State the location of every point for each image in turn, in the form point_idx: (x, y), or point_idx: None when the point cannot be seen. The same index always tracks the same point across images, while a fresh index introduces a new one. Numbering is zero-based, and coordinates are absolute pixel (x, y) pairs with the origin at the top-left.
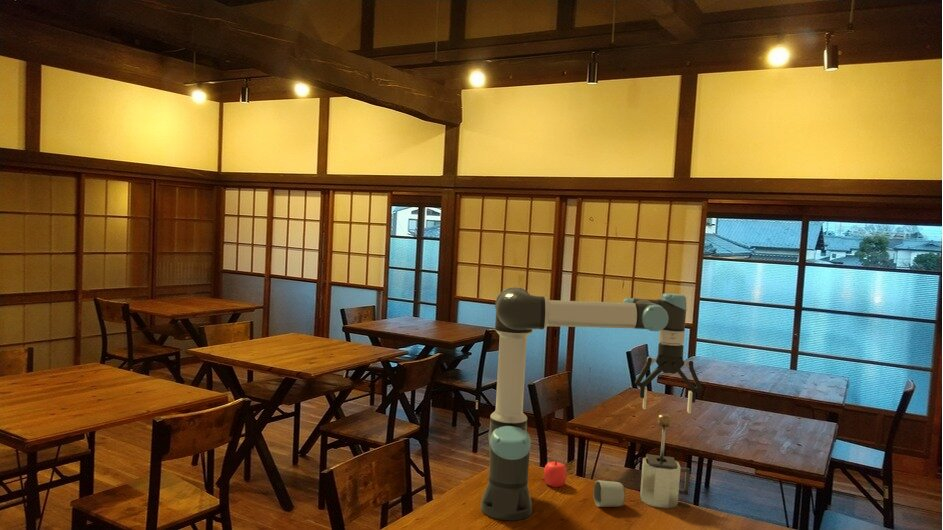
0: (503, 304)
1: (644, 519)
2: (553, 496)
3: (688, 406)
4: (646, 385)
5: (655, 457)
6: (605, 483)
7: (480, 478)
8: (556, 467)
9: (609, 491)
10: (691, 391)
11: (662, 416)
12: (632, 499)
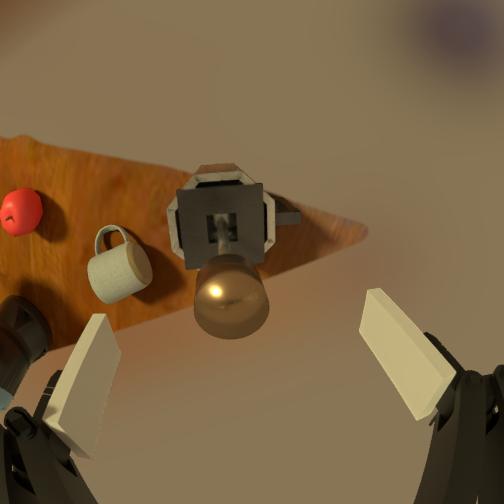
0: None
1: (193, 294)
2: (45, 260)
3: (378, 343)
4: (81, 478)
5: (203, 211)
6: (107, 295)
7: None
8: (15, 232)
9: (121, 298)
10: (445, 393)
11: (216, 331)
12: (166, 214)
